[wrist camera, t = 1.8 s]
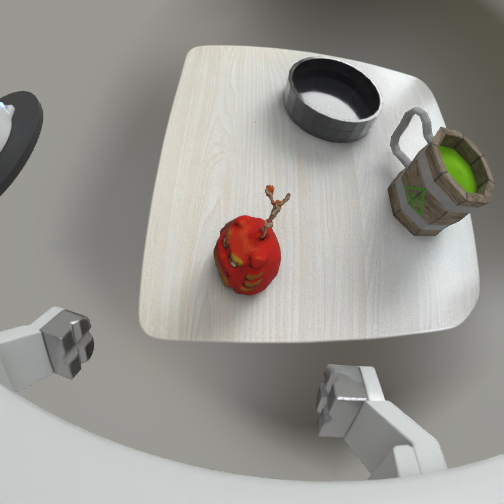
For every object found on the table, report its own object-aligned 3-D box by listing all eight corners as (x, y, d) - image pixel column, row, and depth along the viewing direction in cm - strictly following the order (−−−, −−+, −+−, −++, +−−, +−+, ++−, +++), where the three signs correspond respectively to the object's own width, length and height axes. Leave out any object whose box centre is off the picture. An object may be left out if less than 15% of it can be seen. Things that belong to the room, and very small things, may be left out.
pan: (269, 117, 41) (273, 94, 37) (301, 67, 45) (306, 46, 41) (360, 158, 41) (373, 139, 36) (377, 101, 45) (388, 82, 40)
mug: (455, 223, 39) (505, 191, 28) (411, 250, 37) (466, 218, 26) (404, 140, 43) (440, 94, 31) (356, 154, 41) (390, 101, 29)
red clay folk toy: (205, 247, 35) (189, 186, 21) (259, 223, 37) (277, 153, 22) (232, 306, 34) (234, 283, 19) (288, 280, 35) (327, 240, 21)
